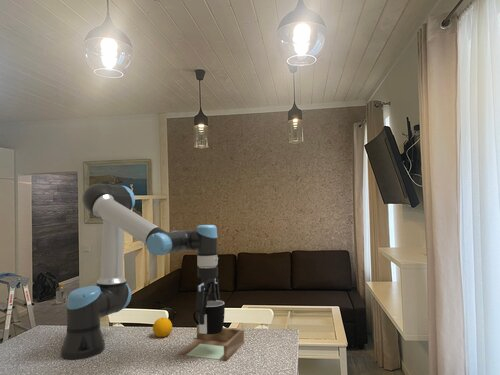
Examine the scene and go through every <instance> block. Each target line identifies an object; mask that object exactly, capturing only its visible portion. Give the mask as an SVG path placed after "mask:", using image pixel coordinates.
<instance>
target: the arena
mask: <svg viewBox="0 0 500 375" xmlns="http://www.w3.org/2000/svg"><path fill="white" fill-rule="evenodd" d="M199 344H207V345H216V346H224V355H223V356H222V357H221V358H220V359H219V360H218V361H223V362H224V361H225V362H228V360H230V359H231V358H232V357H233V355H234V354H235V353H236V352H238V351H239V349H240V348H241V347H242V346H243V345H244V344H245V329H243V328H232V327H223V329H222V331H221V332H220V333H218V334H203V333H199V325H198V324H197V325H196V339H195V340H193V341H192V342H191V343H189V344H188V345H187V346H185V347H184V348H183V349H181V350H180V351H178V352H177V353H176V355H177V356H186V355H187V354H188V353H189V352H190V351H192V350H193V349H194V348H195V347H197V346H198V345H199ZM186 357H187V356H186ZM191 357H193V356H191ZM193 358H194V357H193ZM199 358H201V357H199ZM207 359H208V360H210V359H209V358H207ZM216 360H217V359H215V361H216Z"/></svg>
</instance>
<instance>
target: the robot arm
mask: <svg viewBox="0 0 500 375" xmlns="http://www.w3.org/2000/svg"><path fill="white" fill-rule="evenodd" d="M81 197H82V198H81V199H82V204H83V207H84V208H85V209H86V210H87V211H88V213H90V214H92V215H93V216H95V217H97V218H101V219H102V220H103V221H102V240H101V242H102V244H101V245H102V246H101V261H100V262H101V265H100V269H101V270H100V277H99V278H98V279H97V280H96V285H88V286H83V287H79V288H76V289H74V290H72V291H70V292H69V293H68V295H67V298H66V299H67V300H66V307H65V308H66V334H65V337H64V341H63V345H62V346H61V350H60V357H61V358H63V359H65V360H66V359H67V360H80V359H85V358H91V357H94V356H96V355H98V354H101V353H102V352H103V351H104V350H105V348H106V342H105V341H106V340H105V339H104V337H103V333H102V330H101V318H104V317H106V316H109V315H111V314H117V313H119V312H120V311H122V310H124V309H125V308H127V306H128V305H129V304H130V302H131V299H132V289H131V288H130V286H129V284H128V283H127V279H126V278H125V277H124V276H123V275H124V274H123V272H124V249H125V248H124V247H125V233H127V234H129V235H130V236H131V237H133V238H135V239H136V240H138V241H140V242H141V243H142V244H144V245H145V246H146V249H147V250H148V253H149V254H151V255H153V256H164V255H167V254H172V253H179V252H182V251H183V252H184V251H196V252H197V253H196V254H197V255H196V257H197V260H196V261H197V277H198V279H200V280H201V282H200V284H197V285H196V300H195V310H196V311H195V310H194V311H195V314H196V315H195V316H197V315H198V322H199V333H203V334H207V314H205V313H206V306H207V301H216V300H217V301H221V294H220V287H219V286H220V285H219V281H220V280H219V278H218V277H219V267H218V263H219V261H218V260H219V257H218V229H217V228H218V227H217V226H216V225H215V224H202V225H201V224H200V225H197V226H196V230H182V229H181V230H177V229H176V230H173V231H166V230H164V229H163V228H161V227H159V226H157V225H156V224H154V223H152V222H151V221H150V220H148V219H146V218H144V217H142V216H141V215H139V214H138V213H136V212H134V211H133V208H134V207H135V204H136V198H135V193H134V192H133V191H132V190H131V188H129V187H128V186H126V185H121V184H112V183H111V184H107V183H94V184H91V185H89V186H88V187H86V189H85V190H84V192H83V193H82V196H81Z"/></svg>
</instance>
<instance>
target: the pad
mask: <svg viewBox="0 0 500 375" xmlns="http://www.w3.org/2000/svg"><path fill="white" fill-rule="evenodd" d="M223 355H224V346H216V345H207V344H199V345H198V346H197V347H195V348H194V349H193V350H192V351H190V352H189V353H188V354H187V355H186V357H192V356H193V358H200V357H201V358H203V359H208V358H209V359H208V360H210V359H211V360H216V359H217V360H218V361H220V360H219V359H220V358H221V357H222V356H223Z"/></svg>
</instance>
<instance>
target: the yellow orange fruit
mask: <svg viewBox="0 0 500 375" xmlns="http://www.w3.org/2000/svg"><path fill="white" fill-rule="evenodd" d="M172 329H173V323H172V322H171V320H170V318H167V317H159V318H157V319H156V320H155V321H154V323H153V325H152V332H153V334H154V335H155V336H156V337H158V338H164V337H167V336H169V335H170V334H171V332H172V331H173V330H172Z"/></svg>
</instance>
